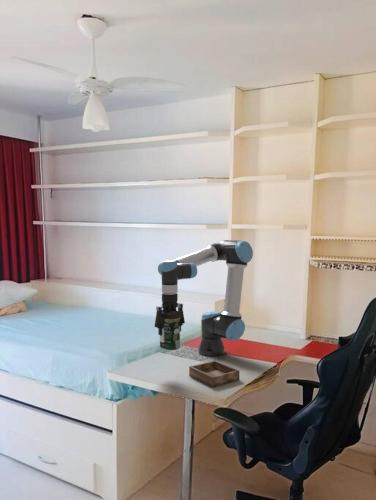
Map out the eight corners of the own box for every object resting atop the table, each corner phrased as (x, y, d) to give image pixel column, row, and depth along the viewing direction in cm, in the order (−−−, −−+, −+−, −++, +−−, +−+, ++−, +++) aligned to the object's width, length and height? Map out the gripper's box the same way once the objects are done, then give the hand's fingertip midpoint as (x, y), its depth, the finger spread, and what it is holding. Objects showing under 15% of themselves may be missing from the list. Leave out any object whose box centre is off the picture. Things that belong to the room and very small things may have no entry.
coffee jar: (157, 348, 194) (156, 309, 193) (168, 344, 200) (168, 307, 199) (171, 352, 188) (171, 312, 187) (183, 348, 194) (182, 309, 193)
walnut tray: (215, 369, 204) (215, 360, 204) (239, 380, 190) (239, 370, 189) (189, 375, 195) (189, 366, 195) (212, 387, 180) (212, 377, 180)
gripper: (183, 290, 201) (183, 334, 203) (146, 294, 189) (146, 342, 191) (192, 292, 195) (192, 338, 197) (154, 296, 183) (155, 345, 185)
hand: (170, 340), depth 194 cm, fingers closed on coffee jar, 8 cm apart
